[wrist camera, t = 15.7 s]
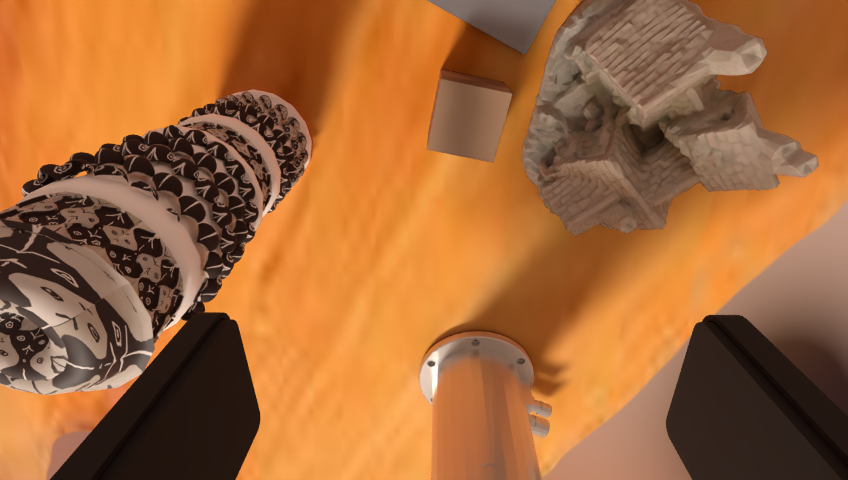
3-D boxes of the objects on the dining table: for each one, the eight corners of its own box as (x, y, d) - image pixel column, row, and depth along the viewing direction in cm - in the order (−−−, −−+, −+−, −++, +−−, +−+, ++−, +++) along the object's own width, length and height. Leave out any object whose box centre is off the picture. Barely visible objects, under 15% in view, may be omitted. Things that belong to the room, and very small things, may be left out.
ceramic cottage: (679, -61, 30) (844, -78, 17) (728, 144, 37) (868, 241, 24) (471, 59, 35) (478, 116, 22) (549, 220, 42) (588, 333, 29)
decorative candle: (280, 64, 34) (-2, 177, 12) (335, 170, 38) (195, 397, 16) (185, 109, 36) (-208, 275, 14) (247, 205, 40) (15, 450, 18)
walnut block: (503, 82, 35) (512, 93, 30) (486, 143, 37) (493, 162, 32) (440, 68, 34) (440, 79, 30) (428, 131, 37) (427, 149, 32)
